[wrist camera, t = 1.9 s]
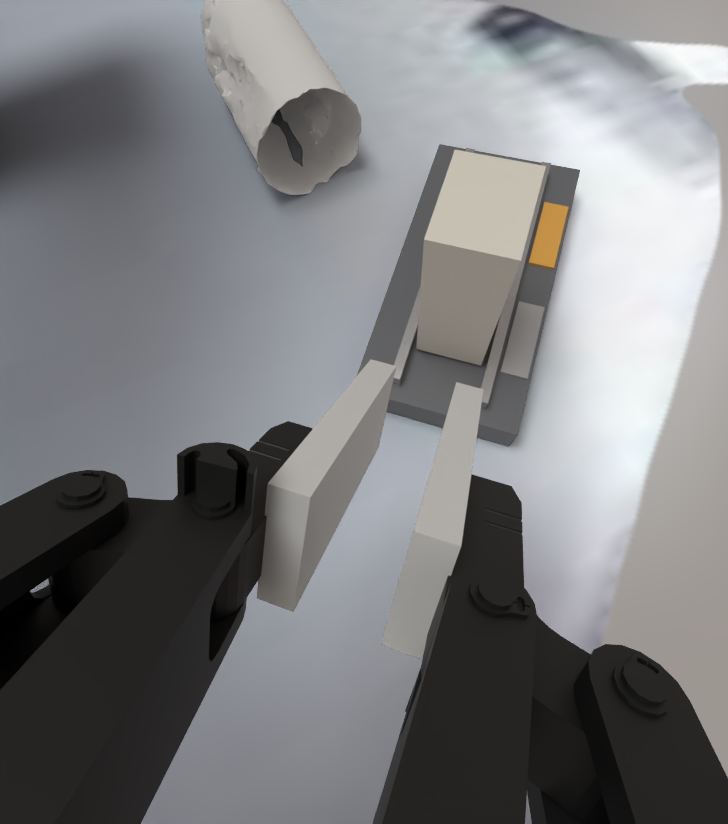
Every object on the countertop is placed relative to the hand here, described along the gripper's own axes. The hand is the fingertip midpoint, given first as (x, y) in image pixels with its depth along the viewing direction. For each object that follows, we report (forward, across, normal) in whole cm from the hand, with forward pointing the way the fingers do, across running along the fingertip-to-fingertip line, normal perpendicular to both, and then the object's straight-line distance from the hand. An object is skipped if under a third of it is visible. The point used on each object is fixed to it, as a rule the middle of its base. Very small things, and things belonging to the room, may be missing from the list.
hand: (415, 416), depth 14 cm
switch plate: (+22, 0, -1) cm, 22 cm away
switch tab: (+17, 0, -2) cm, 17 cm away
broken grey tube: (+31, -20, +7) cm, 37 cm away
